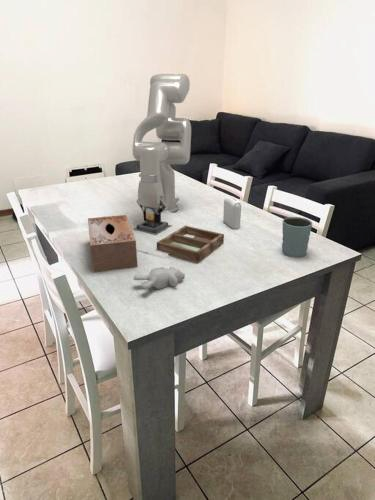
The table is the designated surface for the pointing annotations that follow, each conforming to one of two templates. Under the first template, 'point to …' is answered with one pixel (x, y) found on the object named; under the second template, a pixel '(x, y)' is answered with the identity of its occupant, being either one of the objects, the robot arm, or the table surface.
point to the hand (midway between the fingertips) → (152, 220)
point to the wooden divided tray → (191, 243)
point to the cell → (150, 217)
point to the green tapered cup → (296, 236)
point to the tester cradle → (154, 231)
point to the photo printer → (232, 212)
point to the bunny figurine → (161, 278)
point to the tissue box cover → (112, 243)
